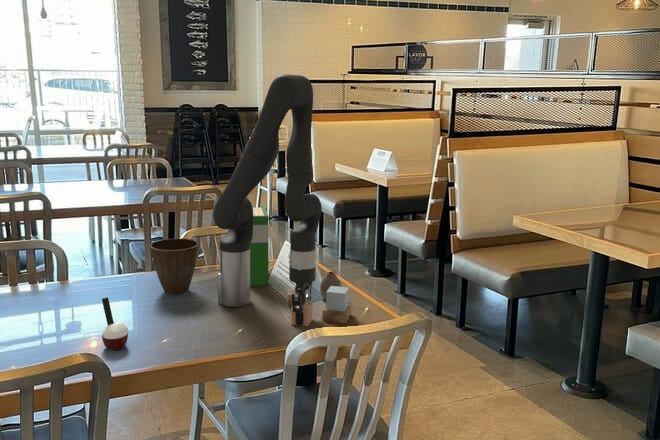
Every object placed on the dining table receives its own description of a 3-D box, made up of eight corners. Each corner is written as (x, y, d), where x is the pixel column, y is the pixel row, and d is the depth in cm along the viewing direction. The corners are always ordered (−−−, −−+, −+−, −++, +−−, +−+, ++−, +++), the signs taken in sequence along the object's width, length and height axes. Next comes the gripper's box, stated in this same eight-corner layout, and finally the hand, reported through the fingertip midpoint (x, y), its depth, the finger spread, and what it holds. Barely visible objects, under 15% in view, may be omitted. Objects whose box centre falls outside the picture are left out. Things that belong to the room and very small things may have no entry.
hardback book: (243, 270, 227) (242, 205, 221) (263, 269, 228) (263, 205, 223) (246, 286, 210) (245, 216, 204) (268, 285, 211) (268, 216, 206)
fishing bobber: (129, 353, 158) (129, 309, 155) (103, 356, 156) (102, 311, 153) (126, 337, 167) (125, 295, 164) (101, 339, 164) (100, 297, 161)
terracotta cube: (291, 324, 178) (291, 307, 177) (295, 317, 183) (296, 301, 182) (308, 326, 177) (308, 309, 176) (312, 319, 182) (312, 303, 181)
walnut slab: (322, 321, 182) (322, 310, 181) (327, 313, 188) (327, 302, 187) (346, 324, 180) (346, 312, 179) (350, 315, 187) (350, 304, 186)
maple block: (287, 307, 192) (287, 294, 191) (286, 302, 195) (286, 290, 195) (300, 306, 192) (300, 294, 191) (299, 302, 196) (299, 290, 195)
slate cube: (326, 309, 181) (326, 291, 180) (330, 303, 187) (330, 285, 185) (344, 311, 180) (345, 293, 179) (348, 305, 185) (348, 287, 184)
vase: (339, 303, 195) (339, 276, 194) (317, 301, 197) (318, 275, 195) (343, 296, 202) (343, 270, 200) (322, 294, 203) (322, 268, 201)
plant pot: (142, 294, 199) (140, 246, 195) (170, 281, 212) (169, 236, 209) (181, 302, 193) (179, 252, 190) (208, 288, 207) (207, 241, 203)
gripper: (296, 256, 184) (295, 310, 188) (282, 270, 170) (282, 328, 174) (321, 258, 182) (320, 313, 186) (309, 272, 169) (308, 331, 173)
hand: (301, 320), depth 180 cm, fingers closed on terracotta cube, 5 cm apart
